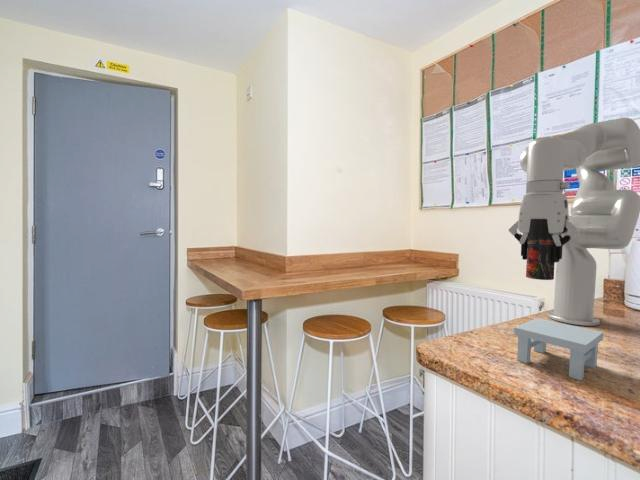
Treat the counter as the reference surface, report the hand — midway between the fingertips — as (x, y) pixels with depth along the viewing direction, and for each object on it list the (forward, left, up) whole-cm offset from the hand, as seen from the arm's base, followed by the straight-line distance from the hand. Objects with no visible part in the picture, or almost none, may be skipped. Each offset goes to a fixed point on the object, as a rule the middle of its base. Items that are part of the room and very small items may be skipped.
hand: (540, 259), depth 84 cm
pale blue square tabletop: (+15, +9, -20) cm, 27 cm away
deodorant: (0, 0, -5) cm, 5 cm away
